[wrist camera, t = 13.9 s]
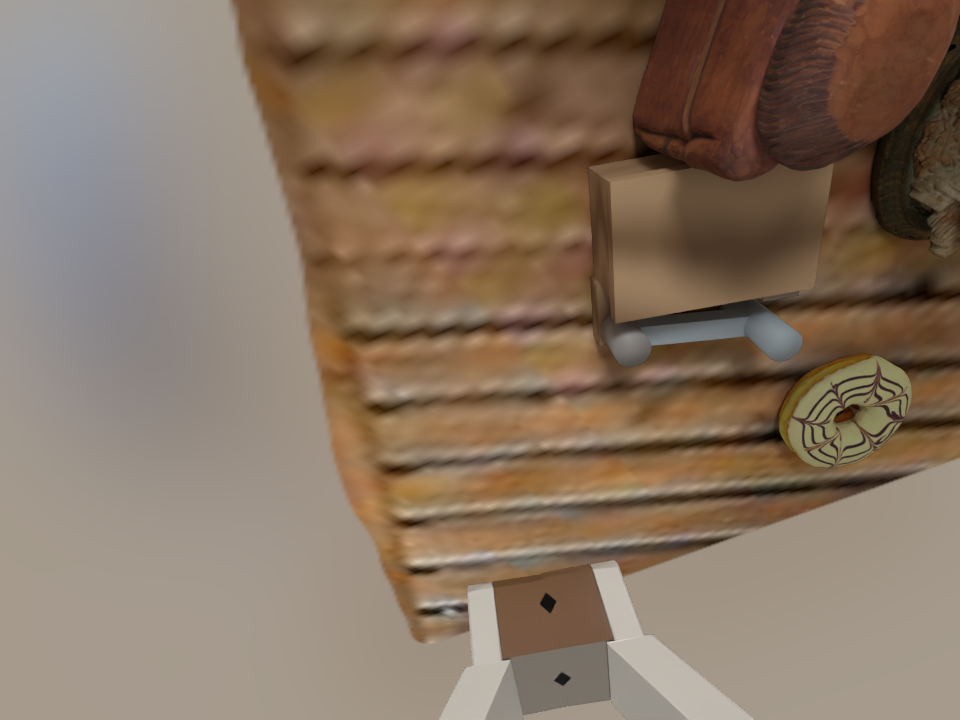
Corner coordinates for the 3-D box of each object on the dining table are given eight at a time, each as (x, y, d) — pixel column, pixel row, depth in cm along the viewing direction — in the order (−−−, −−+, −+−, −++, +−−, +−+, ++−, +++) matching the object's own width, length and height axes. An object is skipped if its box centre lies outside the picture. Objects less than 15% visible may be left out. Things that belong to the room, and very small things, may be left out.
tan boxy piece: (580, 160, 37) (610, 182, 31) (770, 126, 37) (837, 141, 31) (591, 335, 44) (617, 381, 38) (752, 306, 44) (804, 348, 38)
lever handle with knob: (593, 333, 44) (619, 378, 38) (594, 303, 42) (622, 345, 36) (748, 318, 44) (798, 360, 38) (754, 287, 43) (807, 327, 37)
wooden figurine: (699, 156, 38) (892, 233, 22) (613, 135, 37) (752, 201, 21) (782, -51, 32) (1114, -142, 17) (683, -84, 31) (941, -214, 16)
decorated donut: (906, 400, 50) (940, 424, 47) (799, 465, 53) (824, 492, 50) (865, 324, 46) (899, 345, 43) (751, 399, 49) (774, 424, 46)
